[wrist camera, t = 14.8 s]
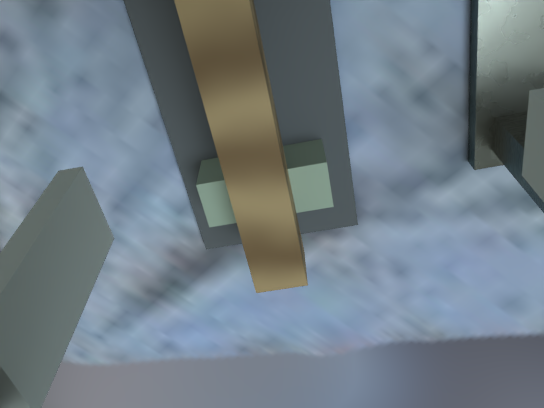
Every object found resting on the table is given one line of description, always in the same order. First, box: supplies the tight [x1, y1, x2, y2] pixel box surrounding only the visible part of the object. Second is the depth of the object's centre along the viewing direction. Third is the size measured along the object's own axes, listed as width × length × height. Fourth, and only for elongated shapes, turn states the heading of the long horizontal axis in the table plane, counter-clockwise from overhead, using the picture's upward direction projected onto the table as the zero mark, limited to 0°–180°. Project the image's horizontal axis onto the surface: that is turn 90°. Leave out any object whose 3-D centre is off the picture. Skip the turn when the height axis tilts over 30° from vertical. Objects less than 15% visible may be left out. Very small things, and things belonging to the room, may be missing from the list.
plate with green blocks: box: [124, 0, 358, 249], centre depth 35 cm, size 38×14×5 cm, turn 11°
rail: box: [174, 0, 308, 293], centre depth 31 cm, size 36×4×4 cm, turn 11°
